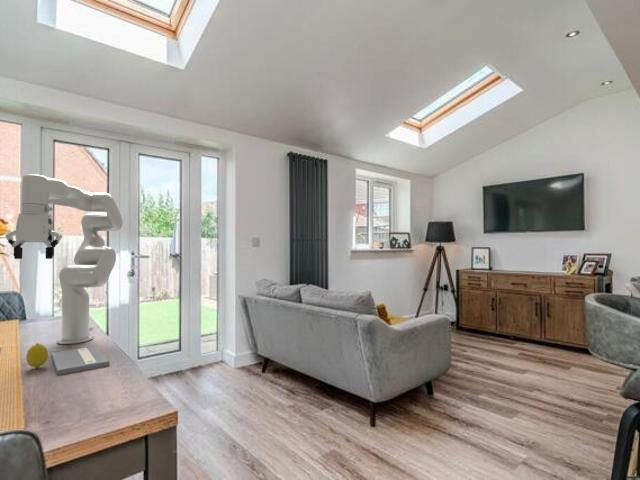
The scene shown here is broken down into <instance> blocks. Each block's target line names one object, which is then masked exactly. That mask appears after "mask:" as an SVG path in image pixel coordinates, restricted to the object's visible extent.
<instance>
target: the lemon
mask: <svg viewBox="0 0 640 480" xmlns="http://www.w3.org/2000/svg"><path fill="white" fill-rule="evenodd" d="M48 355H49V351H48V348H47V347H46V346H45V345H44V344H41V343H35V344H33V345H32V346H31V347H30V348H28V350H27V352H26V355H25V356H26V363H27V364H28V366H30V367H34V368H35V369H39V367H41V366H42V365H44V364H46V362H47V360H48V357H49V356H48Z"/></svg>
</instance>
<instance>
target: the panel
mask: <svg viewBox="0 0 640 480" xmlns="http://www.w3.org/2000/svg"><path fill="white" fill-rule="evenodd" d="M82 348H83V347H81V348H74V349H68V350H61V351H55V352H51V359H52V363H53V366H54V369H55V372H56V375H57V376H61V375H65V374H71V373H75V372H76V373H77V372H82V371H86V370H92V369H98V368H104V367H109V366H110V360H109V359H108V357H107V356H106V354H104V353H103V351H102V350H101V349H100V347H99V346H98V345H94V346H87V347H85V348H87V349H88V350H89V352H90V353H91V355H92V356H93V358H94V359H95V360H96V363H91V364H85V362H84V360H83V359H82V357H81V355H80V353H79V352H78V350H77V349H82Z"/></svg>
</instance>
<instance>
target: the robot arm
mask: <svg viewBox="0 0 640 480" xmlns="http://www.w3.org/2000/svg"><path fill="white" fill-rule="evenodd" d="M49 204H51V205H56V206H61V207H70V208H73V209H77V210H80V211H84V212H90V213H85V214H84V215H83V216H82V218H81V221H80V223H81V228H82V233H83V240H82V243H81V244H80V246H79V248H78V250H77V251H76V252H75V255H74V257H73V262H74V263H73V264H70V265H69V264H68V265H67V266H64V267H62V269H60V271H59V274H58V278H59V284H60V288H61V337H58V339H57V340H56V343H57V344H60V345H71V344H80V343H81V344H82V343H85V342H89V341H91V340H93V339H94V335H93V334H90V332H92V331H94V326H92V325H91V326H90V295H89V294H88V292H87V290H86V288H101V287H103V286H105V284H106V283H107V282H108V280H109V278H110V275H111V273H112V271H113V269H114V268H115V267H114V266H115V265H116V263H117V262H116V261H117V253H116V251H115V249H113V248H112V247H110V246H105V243H106V241H105V240H104V238H103V236H102V235H101V234H100V233H99V232H116V231H119V230H121V229H122V227H123V223H124V222H123V218H122V214H121V213H120V211H119V208H118V205H117V203H116V201H115V199H114V198H113V196H112V195H111V194H110V193H107V192H89V191H87V190H84V189H82V188H79V187H77V186H71V185H68V184H67V182H66V181H64V180H62V179H59V178H58V179H57V178H51V177H47V176H45V175H43V174H42V175H41V174H32V173H27V174H24V175H23V176H22V179H21V208H20V209H21V210H20V211H21V212H20V213H18V217H17V218H16V219H17V220H16V227H15V230H14V231H12V232H11V231H10V232H9V233H7V234H5V235H4V236H5V239H6V240H7V242H8V244H10V245H11V247H12V248H13V258H14V260H22V259H23V247H22V246H23V245H24V244H25V243H44V244H45V245H46V246H47V247H45V259H46V260H53V257H54V252H55V247H56V246H57V245H58V244H59V243H60V241H61V240H62V238H63V235H62V234H60V233H58V232H57V231H54V224H53V223H54V222H53V217H52V214H49V213H50V212H52V211H53V207H52V206H50V205H49ZM13 237H15V239H14V238H13Z"/></svg>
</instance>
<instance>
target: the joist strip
mask: <svg viewBox="0 0 640 480" xmlns="http://www.w3.org/2000/svg"><path fill="white" fill-rule="evenodd" d="M81 348H82V349H79V348H76V349H77V350H78V352H79V353H80V355H81V357H82V359H83V360H84V362H85V364H91V363H96V360H95V359H94V358H93V356H92V355H91V353H90V352H89V350H88V349H87V348H86V347H81Z"/></svg>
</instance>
